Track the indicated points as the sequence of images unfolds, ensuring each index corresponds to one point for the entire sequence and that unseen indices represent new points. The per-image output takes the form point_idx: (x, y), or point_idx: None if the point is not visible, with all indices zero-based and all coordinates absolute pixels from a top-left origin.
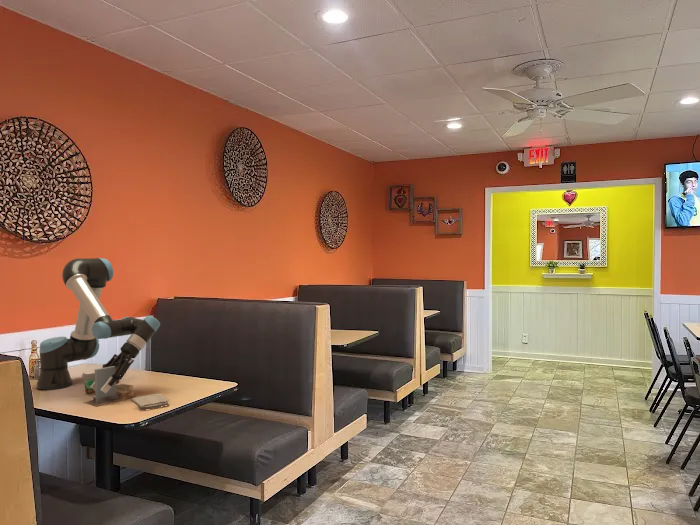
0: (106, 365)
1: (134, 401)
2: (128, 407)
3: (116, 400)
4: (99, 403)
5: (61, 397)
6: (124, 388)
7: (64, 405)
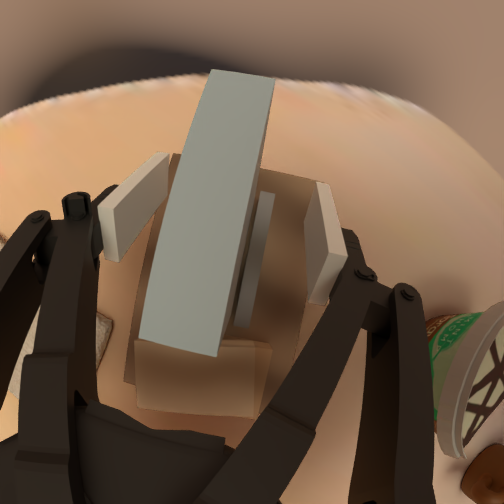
0: (398, 364)
1: None
2: None
3: None
4: None
5: (496, 243)
6: (140, 339)
7: (385, 153)
